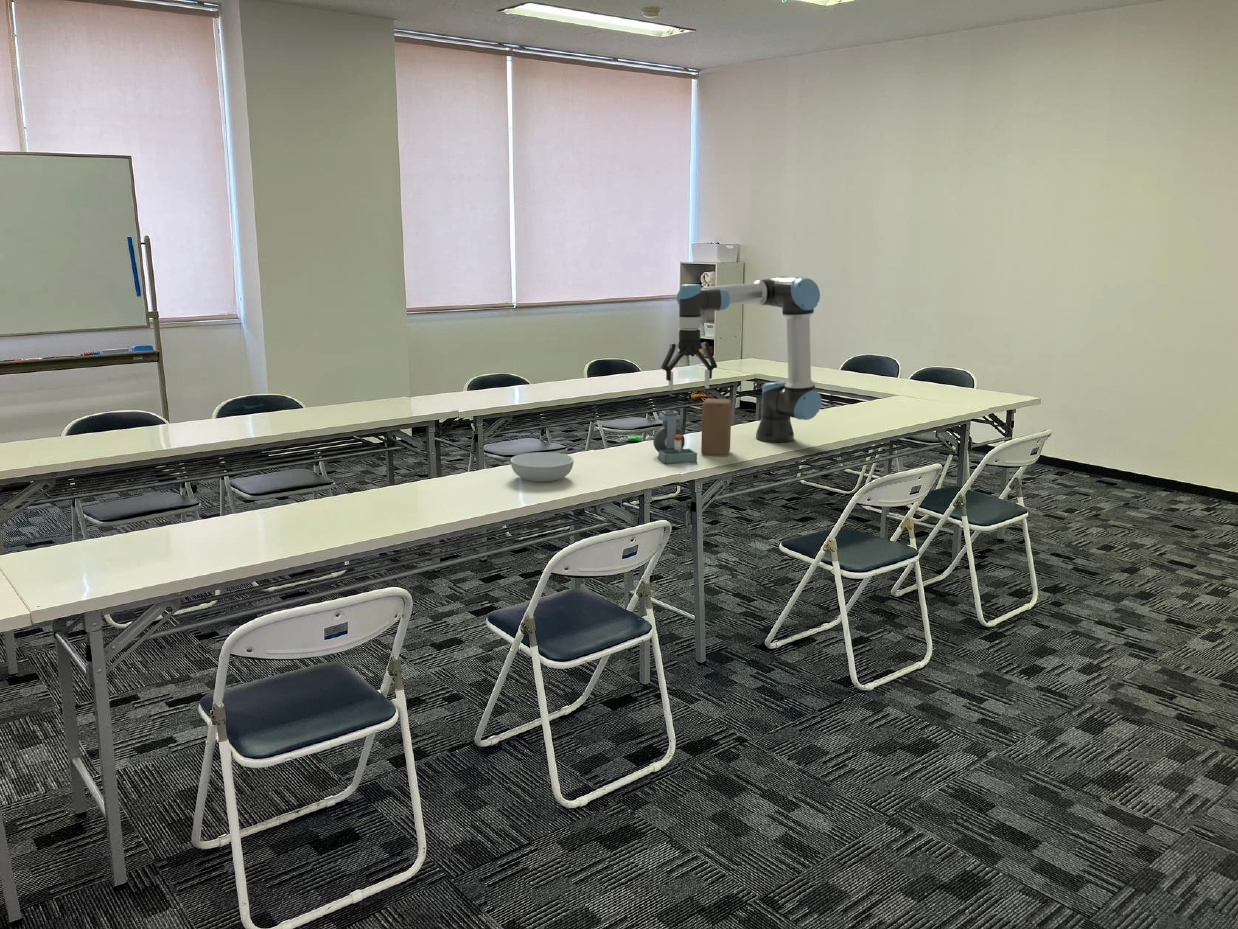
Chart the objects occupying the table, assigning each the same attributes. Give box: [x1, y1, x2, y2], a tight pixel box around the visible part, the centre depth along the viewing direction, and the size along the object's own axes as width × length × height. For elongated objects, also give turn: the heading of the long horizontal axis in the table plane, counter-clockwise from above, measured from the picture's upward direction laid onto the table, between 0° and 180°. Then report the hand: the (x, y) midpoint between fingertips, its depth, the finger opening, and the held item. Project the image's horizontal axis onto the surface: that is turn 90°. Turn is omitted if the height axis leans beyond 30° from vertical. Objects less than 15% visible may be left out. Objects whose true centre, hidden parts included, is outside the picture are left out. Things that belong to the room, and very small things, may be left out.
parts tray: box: [658, 448, 698, 465], centre depth 335 cm, size 12×8×4 cm, turn 105°
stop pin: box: [673, 434, 684, 454], centre depth 334 cm, size 3×3×9 cm
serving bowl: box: [510, 451, 575, 483], centre depth 308 cm, size 21×21×7 cm
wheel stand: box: [652, 410, 686, 453], centre depth 341 cm, size 11×6×16 cm, turn 105°
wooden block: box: [700, 398, 733, 457], centre depth 346 cm, size 10×10×20 cm
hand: (688, 388), depth 331 cm, fingers open, 13 cm apart
